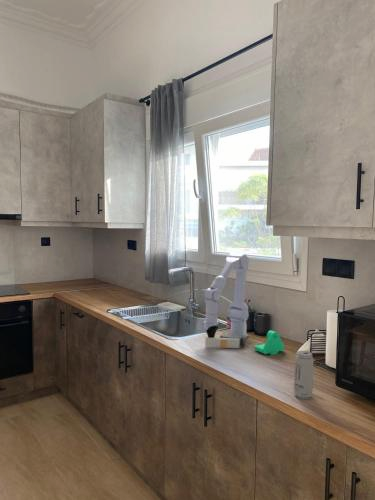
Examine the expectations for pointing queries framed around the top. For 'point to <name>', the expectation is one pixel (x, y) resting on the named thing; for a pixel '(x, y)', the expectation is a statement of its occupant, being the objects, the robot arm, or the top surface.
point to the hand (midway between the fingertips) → (211, 341)
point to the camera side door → (222, 342)
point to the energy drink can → (303, 375)
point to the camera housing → (234, 337)
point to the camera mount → (271, 344)
